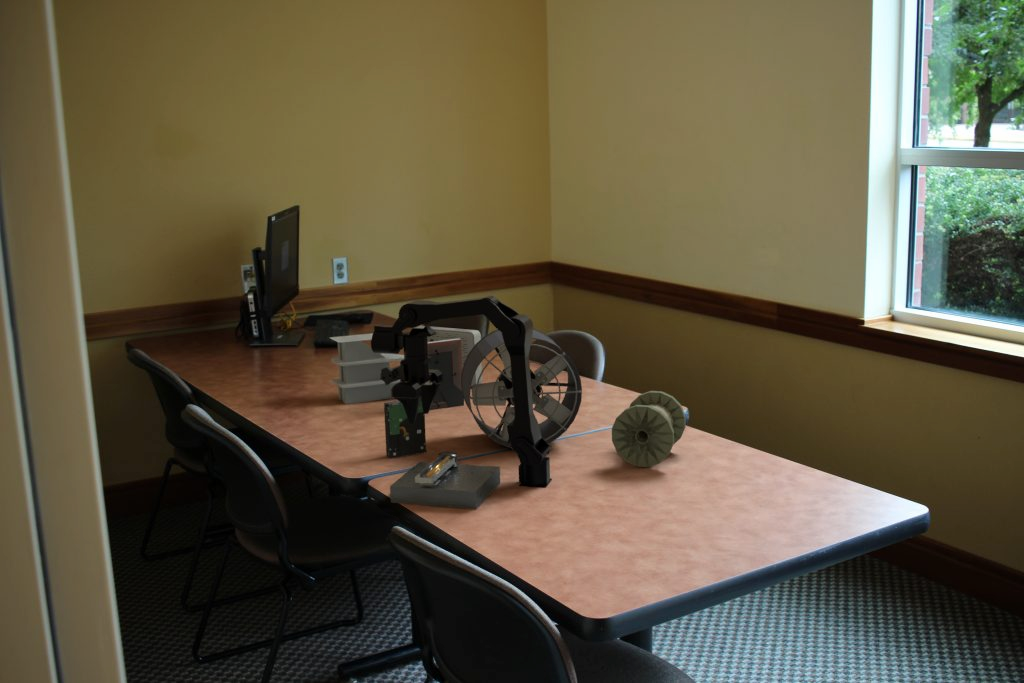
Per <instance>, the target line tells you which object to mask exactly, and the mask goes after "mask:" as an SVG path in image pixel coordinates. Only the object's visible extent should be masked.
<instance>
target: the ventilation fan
mask: <svg viewBox="0 0 1024 683" xmlns="http://www.w3.org/2000/svg"><path fill="white" fill-rule="evenodd" d="M532 340H539V341H543V342H546V343H548V344H551V345H552V346H555V347H556V348H557V349H558V350H559V351H560V353H558V352H557V351H555V350H554V349H551V348H549V347H547V346H545V345H541V344H537V343H536V344H535V343H531V346H532V347H534V346H535V347H539V348H543V349H545V350H548V351H550V352H552V353H554V354H555V355H556V356H553V358H552V359H550V360H548V361H547V362H545V363H544V364H543V363H541V362H538V361H534V360H529V362H530V363H531V364H532V363H533V364H537V365H539V366H540V367H538V368H537V369H535V370H534V371H532V369H531V368H530V375H531V388H532V401H533V405H535V406H533V412H534V411H535V412H537V413H539V414H540V415H541V416H544V417H545V418H546V419H545V420H543V421H541V422H540V423H538V424H539V428H540V432H541V437H542V438H543V439H544V440H545V441H546V442H547V443H548V444H549V445H550V443H552V442H554V441H555V440H557V439H559V438H560V437H561V436H563V434H564V433H565V432H566V431H567V430H568V429H569V428H570V427H571V425H572V424H573V422H574V421H575V419H576V417H577V415H578V413H579V410H580V407H581V404H582V399H583V398H582V396H583V388H582V380H581V376H580V374H579V370H578V368H577V366H576V365H575V362H574V361H573V359H572V358H571V357H570V356H569V355H568V354H567V353H566V351H564V350H563V349H562V348H561V347H560V346H559V345H558V344H557V343H556V342H555V341H554V339H552V338H551V337H549V336H548V335H547V334H546V333H545V332H542V331H540V330H538V329H535V328H533V334H532ZM531 346H530V347H531ZM493 351H495V352H496V354H495V355H494V356H493V357H491V359H488V358H487V356H488V355H489V354H490V353H492V352H493ZM496 357H499V359H500V360H501V362H502V364H503V369H502V370H501V369H500V368H499V367H498V366H496V365H495V364H494V363H493V362H492V361H494V359H495V358H496ZM484 359H485V360H486V361H487V363H486V364H485V366H484V367H482V372H481V374H480V376H479V378H478V381H477V384H475V385H472V387H471V383H472V380H473V376H474V374H475V372H476V370H477V368H478V366H479V365H480V363H481V362H482V363H483V361H484ZM488 365H491V366H492V367H494V368H495V369H496V370H497V371H498V372H499V373H500V374H499V375H498V376H497V378H496V380H495V381H491V382H484V383H483V382H482V383H481V384H479V380H480V378H481V375H482V376H483V373H484V371H485V370H486V369H487V367H488ZM565 369H566V371H567V382H559V379H558V377H557V376H558V375H560V374H561V373H562V372H563V371H564V370H565ZM554 379H555V381H556V382H552V381H553V380H554ZM542 386H544V387H558V391H548V392H544V390H543V387H542ZM561 387H566V390H565V391H561ZM461 388H462V395H463V397H464V404H465V405H466V407H467V408H468V410H469V412H470V413H471V416H472V417H473V419H474V421H475V423H476V424H477V426H478V427H479V429H480V430H481V431H482V432H483V433H484V434H485V436H487V437H488V438H490V440H492V441H494V442H495V443H497V444H499V445H501V446H503V447H506V448H510V449H512V448H511V442H510V443H508V439H509V435H508V431H507V425H509V424H510V423H511V422H512V421H513V420H514V418H515V412H514V400H513V387H512V375H511V362H510V356H509V353H508V351H507V349H506V347H505V344H504V340H503V336H502V332H501V331H499V330H498V329H495V330H493V331H491V332H488V334H486V335H484V336H483V337H481V340H480V341H479V342H477V343H476V344H475V346H474V347H473V348H472V350H471V351H470V352H469V354H468V356H467V358H466V360H465V362H464V365H463V369H462V373H461ZM561 394H564V397H563V398H562V401H561ZM552 395H558V399H556V398H554V397H553V396H552ZM540 396H541V397H540ZM471 400H472V402H471ZM471 403H472V404H473V406H475V408H476V411H477V414H478V416H479V418H478V416H477V415H476V414H475V413H474V412H473V409H472V404H471ZM506 404H507V405H506ZM479 406H480V407H481V406H482V407H483V406H484V407H488V406H490V407H491V406H492V407H494V411H495V413H497V415H498V416H499V418H500V419H501V420H500V422H499V424H497V426H496V427H495V428H494V427H492V426H490V425H488V424H486V422H485V421H484V419H483V417H482V416H481V415H482V414H481V413H480V410H479ZM497 406H501V407H502V406H503V407H505V406H506V407H505V409H504V412H503V415H501V414H500V412H499V411H498V408H497Z"/></svg>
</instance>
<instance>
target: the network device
mask: <svg viewBox="0 0 1024 683" xmlns="http://www.w3.org/2000/svg"><path fill="white" fill-rule="evenodd" d="M425 326H426V325H420V326H417V327H414V328H424V327H425ZM430 327H431V328H432V329H433V330H434V331H435V332H436V334H435V335H433V336H431V337H427V339H428V342H433V341H441V340H449V339H458V338H459V339H461V345H462V369H463V365H464V362H465V360H466V358H467V356H468V354H469V352H470V351H471V350H472V348H473V347H474V346H475V344H476V343H477V342H479V341H480V340H481V339H482V335H481V332H480V330H477V329H464V328H452V327H442V326H441V327H440V326H430ZM482 370H483V361H482V362H481V363H480V365H479V366H478V368H477V370H476V372H475V374H474V376H473V380H472V383H471V388H472V385H475V384H477V381H478V378H479V376H480V374H481V372H482ZM482 383H483V374H482V375H481V378H480V380H479V384H482Z"/></svg>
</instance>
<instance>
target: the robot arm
mask: <svg viewBox="0 0 1024 683" xmlns="http://www.w3.org/2000/svg"><path fill="white" fill-rule="evenodd" d="M482 315H483V316H484V317H486V319H488V321H489V322H490V323H491V325H492V326H494V327H495V329H496V330H499V331H501V332H502V336H503V340H504V344H503V345H505V347H506V349H507V351H508V353H509V356H510V362H511V375H512V387H513V400H514V406H513V407H514V412H515V418H514V420H513V421H512V422H511V423H510V424H509V425H507V431H508V435H509V439H508V443H510V442H511V448H510V449H511V450H512V451H513V452H514V453H515V454H517V457H518V460H519V463H520V464H519V465H518V483H519V484H518V486H519V487H525V488H541V489H542V488H543V489H546V488H547V487H548V486H549V485H550V483H551V482H552V481H553V479H552V478H551V469H550V468H551V467H550V457H549V456H548V455H550V452H551V449H552V445H551V444H550V443H549V444H548V443H547V442H546V441H545V440H544V439H543V438H542V437H541V432H540V428H539V424H540V423H539V422H538V419H537V417H536V415H535V412H534V410H533V408H534V404H533V401H532V388H531V375H530V369H531V367H530V363H531V362H529V361H530V350H531V344H532V342H533V339H532V334H533V329H534V324H533V321H532V319H531V318H530V317H528V316H527V314H523V313H519V312H518V311H517V310H515V309H514V308H512V307H510V306H509V305H507V304H505V303H503V302H502V301H501V300H499V298H497V297H496V296H494V295H487V296H484V297H477V298H467V299H459V300H450V301H443V302H442V301H441V302H440V301H431V300H422V299H416V300H413V301H410V302H407V303H405V304H403V305H401V307H400V308H399V311H398V317H397V319H396V320H395V322H394V323H393V325H384V324H376V325H374V327H373V332H372V333H373V335H372V340H370V346H371V348H372V351H373V352H374V353H382V354H398V355H399V353H400V351H401V350H403V355H404V359H403V360H401V361H399V364H398V365H396V366H394V367H391V366H390V365H389V366H388V367H386V368H383V369H381V374H380V375H381V377H380V380H383V381H384V382H385V385H388V384H390V383H391V382H394V381H397V380H400V382H399V383H397V384H395V385H394V386H393V387H392V388H391V397H394V398H393V400H395V401H400V402H401V403H402V405H403V407H404V409H405V412H406V415H407V417H408V420H409V423H410V424H414V423H415V420H416V416H417V412H418V409H419V405H420V401H421V402H422V407H423V412H424V414H425V415H426V414H427V415H428V414H429V413H430V411H431V410H430V408H431V405H432V403H433V400H434V398H435V395H436V393H437V391H438V388H439V386H440V385H441V383H440V382H442V381H443V378H442V373H441V372H440V371H439V370H429V362H430V361H431V357H428V339H427V337H431V336H433V335H435V334H436V332H435V331H434V330H433V329H432V328H431V327H432V326H430V323H432V322H436V321H438V320H446V319H447V320H448V319H454V318H455V319H456V318H462V317H464V318H466V317H474V316H482ZM425 324H427V325H425ZM419 326H425V327H424V328H415V327H419ZM407 329H411V330H410V331H405V330H407ZM435 381H436V383H435Z"/></svg>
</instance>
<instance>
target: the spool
mask: <svg viewBox="0 0 1024 683" xmlns="http://www.w3.org/2000/svg"><path fill="white" fill-rule="evenodd" d="M686 417H687V416H686V413H685V411H684V409H683V406H682V404H681V403H680V402H679V401H678V400H677V399H676V398H675V397H674V396H673V395H672V394H671V395H670V394H669V393H667V392H664V391H657V390H649V391H647V392H644V393H641V394H638V396H637V397H636V398H634V399H633V401H632V402H631V403H630V405H629V407H627V408H625V409H624V410H623V411H622V412H621V413H620V414H619V415H618V416H617V417H616V418H615V420H614V422H613V425H612V428H611V441H612V444H613V446H614V448H615V451H616V453H617V454H618V455H619V456H620V457H621V458H622V459H623V460H624V461H625V462H626V463H629V464H631V465H633V466H634V467H643V468H650V467H652V466H656V465H659V464H660V463H662V462H663V461H664V460H665V459H667V458H668V457H669V455H670V453H671V451H672V449H673V446H674V445H675V444H676V443H677V442H678V441H679V440H681V439H682V436H683V434H684V431H685V430H686V422H687V421H686Z"/></svg>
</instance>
